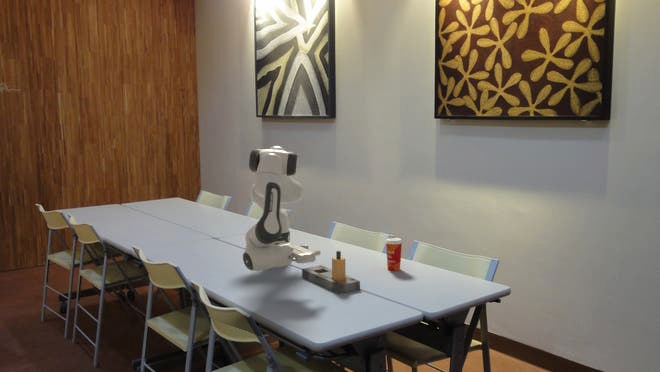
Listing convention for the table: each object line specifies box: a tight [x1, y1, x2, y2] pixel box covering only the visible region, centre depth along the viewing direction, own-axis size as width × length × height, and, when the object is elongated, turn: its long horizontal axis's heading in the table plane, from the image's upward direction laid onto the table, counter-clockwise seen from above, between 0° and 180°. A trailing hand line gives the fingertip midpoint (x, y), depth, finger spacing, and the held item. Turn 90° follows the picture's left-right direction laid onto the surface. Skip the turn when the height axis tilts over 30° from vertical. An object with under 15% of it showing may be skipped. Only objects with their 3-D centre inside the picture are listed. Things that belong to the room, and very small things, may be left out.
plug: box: [331, 250, 347, 281], centre depth 243 cm, size 4×4×15 cm
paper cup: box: [385, 237, 403, 272], centre depth 268 cm, size 8×8×14 cm
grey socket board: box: [301, 264, 361, 295], centre depth 250 cm, size 30×10×4 cm, turn 33°
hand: (313, 249), depth 240 cm, fingers open, 8 cm apart
